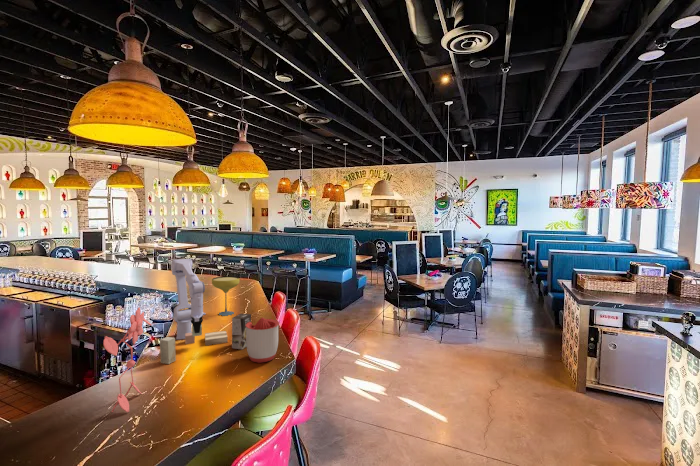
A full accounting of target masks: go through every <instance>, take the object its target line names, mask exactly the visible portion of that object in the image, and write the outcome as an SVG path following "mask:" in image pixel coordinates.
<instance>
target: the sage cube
mask: <svg viewBox="0 0 700 466" xmlns="http://www.w3.org/2000/svg"><path fill="white" fill-rule="evenodd" d="M202 329H203V325H202V323H201V327H200V332H199V333H195V332H194V327H193V324H191V332H192V336H195V337H197V336H198V337H200V336H203V334H202V333H203V332H202V331H203V330H202Z"/></svg>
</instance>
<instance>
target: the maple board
mask: <svg viewBox="0 0 700 466" xmlns="http://www.w3.org/2000/svg"><path fill="white" fill-rule="evenodd" d="M204 343H205V345H206V346H212V344H213V345H219V344H226V343H228V332H227V331H226V330H222V331H213V332H205V333H204Z"/></svg>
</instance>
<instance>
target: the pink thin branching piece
mask: <svg viewBox="0 0 700 466" xmlns="http://www.w3.org/2000/svg"><path fill="white" fill-rule="evenodd" d="M129 322H130V327H129V329H128V330H127V332H126V333H125V334H124V336H123V338H121V339H120V341H119V342H117V341H116V340H114V338H112V337H109V336H107V335H106V336H104V339H103V347H104V349H105V351H107V353H109V354H110V355H112V356H115V357H116V356H117V355H118V352H119V346H120V344H121V343H124V344H125V345H126V346H127V347H129V348H130V358H131V359H130V360H128V361H127V362H126V364H125V366H126V370H125V371H124V372H123V373H122V374H121V375H120V376H119V377H118V383H119V385H118V386H119V393H118V394H117V397H116V399H117V400H116V402H115V404H114V406H113V408H112V410H111V413H113V412H114V411H115V409H116V407H117V406H118V405H119V407H120V409H122V410H123V411H125V412H126V413H128V412H129V413H130V403H129V400H128V398H127V396H128V394H129V392H130V391H131V389H132V388H133V389H134V390H135V391H136V392H137V393H139V394H140V395H142V394H143V393H142V392H141V391H140V389H139V388H138V387H137V386H136V385H135V382H134V376H133V367H134V366H135V365H136V361H135V360H134V359H133V357H134V356H133V349H134V348H133V347H132V346H131V345H130V344H129V343H127V341H131V339H132V345H135V344H136V342H137V341H138V340H139V336H141V335H142V334H143V332H144V329H143V323H146V324H147V325H149V326H153V325H152V323H150V322H149V321H148V320H147V319H146V318H145V312H144V311H142V312H141V308H140V307H137V310H135V312H134V314H131V315H130V317H129ZM126 340H127V341H126ZM129 369H130V374H131V381H130V382H129V383H130V385H129V388H128V390H127V391H126V393H125V395H124V394H123V393H122V383H121V378H123V376H124V375H125V373H127V371H128V370H129Z"/></svg>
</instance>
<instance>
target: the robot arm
mask: <svg viewBox="0 0 700 466" xmlns="http://www.w3.org/2000/svg"><path fill="white" fill-rule="evenodd" d="M193 265H194V263H193V260H192V259H191V258H181V259H179V258H178V259H172V261H171V262H170V266H171V267H170V268H171V274H172V275H173V276H175V282H176V290H177V291H176V292H177V300H178V304H177V305H176V306H175V307H174V309H173V320H174V322H175V323H177V325H176V326H177V327H176V329H177V330H176V331H177V332H176V333H177V334H176V337H175V341H176V340H185V333H192V325H193V327H194V332H195V333H199V332H200V327H201V324H202V323H203V322H204V320H203V318H204V316H205V315H206V312H204V293H205V291H206V286H205V283H204V281H201V280H200V279H199V277H198V275H197V274H196V273H194V272H193ZM187 285H188V287H187ZM188 291H189V298H190V303H189V300H188Z"/></svg>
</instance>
